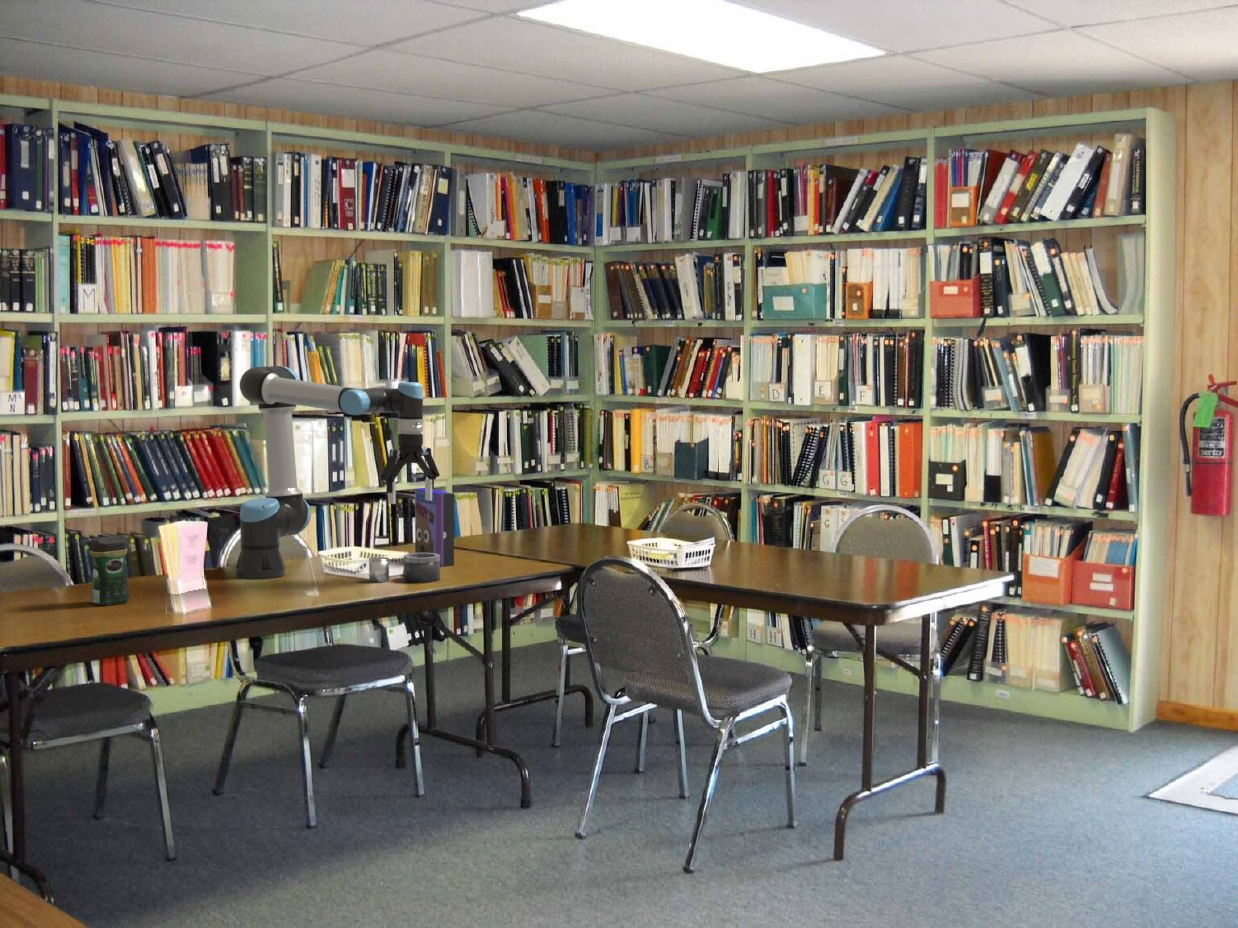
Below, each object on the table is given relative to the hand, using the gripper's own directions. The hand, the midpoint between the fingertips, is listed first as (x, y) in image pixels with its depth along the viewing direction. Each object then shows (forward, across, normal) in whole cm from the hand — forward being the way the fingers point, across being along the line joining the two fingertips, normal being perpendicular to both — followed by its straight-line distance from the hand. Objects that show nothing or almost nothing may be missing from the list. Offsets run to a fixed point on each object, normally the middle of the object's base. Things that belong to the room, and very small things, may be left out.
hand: (410, 501), depth 410 cm
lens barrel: (+24, +2, -3) cm, 24 cm away
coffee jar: (+24, -85, +23) cm, 91 cm away
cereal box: (+24, +24, +20) cm, 39 cm away
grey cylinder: (+24, -9, +3) cm, 26 cm away
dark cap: (+24, +4, +5) cm, 25 cm away
